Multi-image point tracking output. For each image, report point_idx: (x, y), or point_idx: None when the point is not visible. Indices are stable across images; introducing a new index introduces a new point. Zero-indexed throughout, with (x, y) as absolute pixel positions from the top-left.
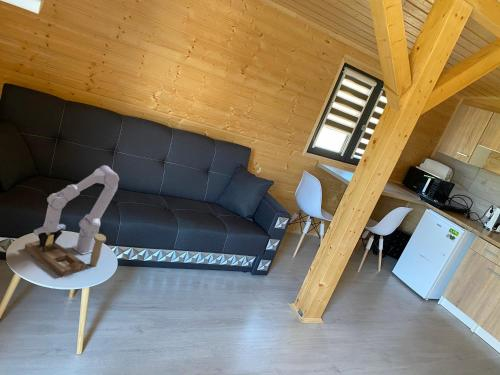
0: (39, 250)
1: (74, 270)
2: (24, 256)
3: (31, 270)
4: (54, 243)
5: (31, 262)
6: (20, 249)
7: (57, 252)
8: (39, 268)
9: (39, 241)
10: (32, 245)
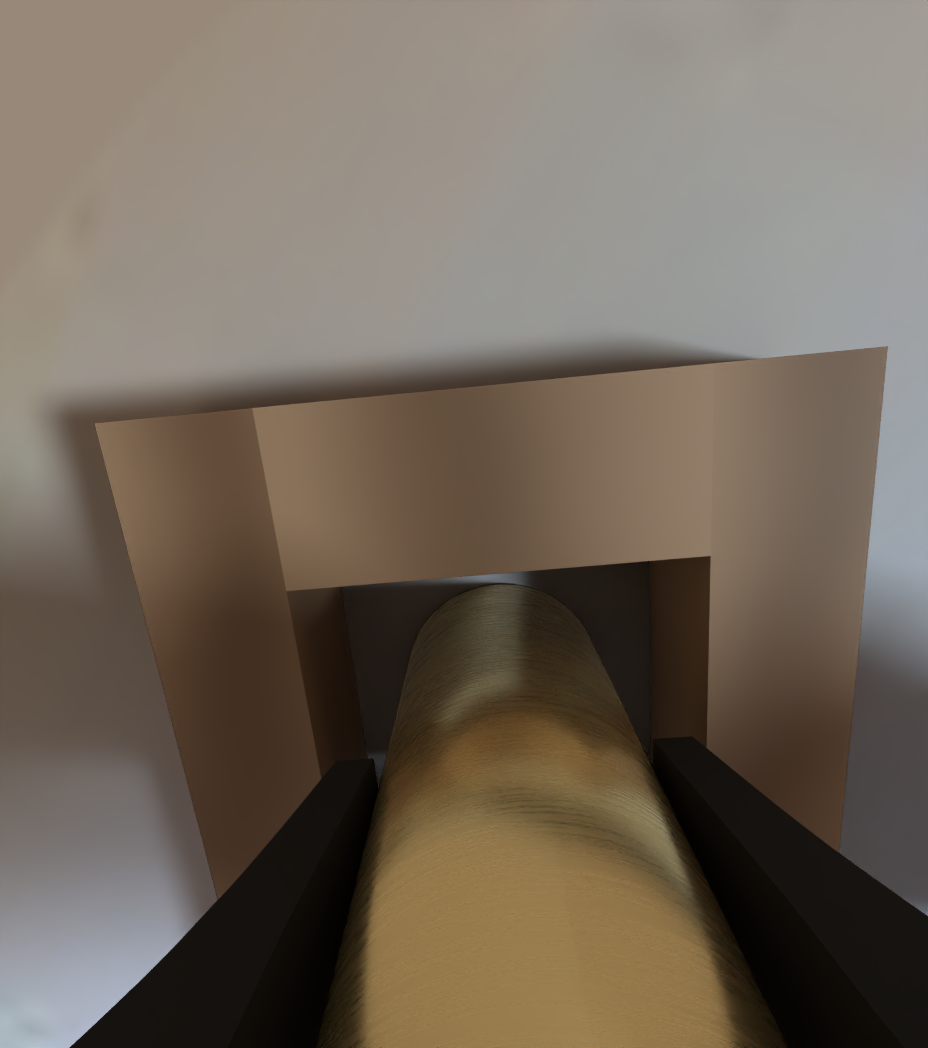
0: None
1: None
2: (115, 647)
3: (83, 993)
4: (800, 672)
5: (156, 837)
6: (130, 388)
7: None
8: None
9: (507, 441)
10: (236, 575)
